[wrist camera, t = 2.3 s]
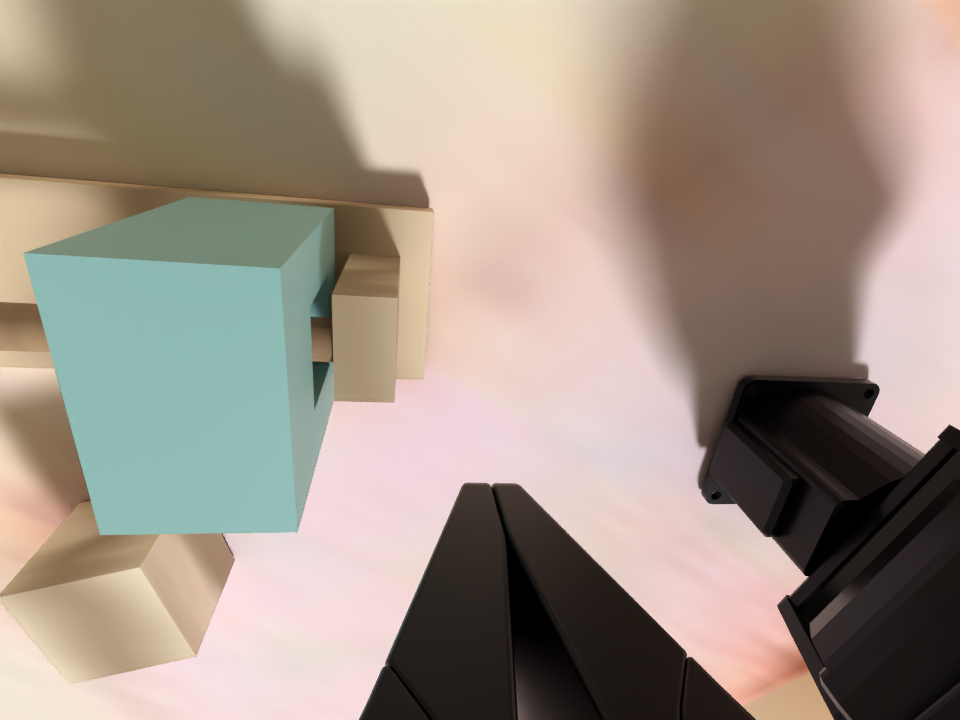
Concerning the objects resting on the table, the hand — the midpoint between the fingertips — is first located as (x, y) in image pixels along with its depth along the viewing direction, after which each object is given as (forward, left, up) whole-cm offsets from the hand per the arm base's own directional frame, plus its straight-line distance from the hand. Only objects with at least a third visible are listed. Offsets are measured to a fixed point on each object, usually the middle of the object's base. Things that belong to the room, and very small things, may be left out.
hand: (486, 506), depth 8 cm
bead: (+6, 0, -10) cm, 12 cm away
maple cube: (+11, +11, -12) cm, 20 cm away
